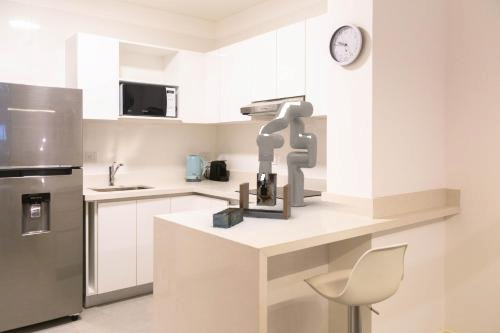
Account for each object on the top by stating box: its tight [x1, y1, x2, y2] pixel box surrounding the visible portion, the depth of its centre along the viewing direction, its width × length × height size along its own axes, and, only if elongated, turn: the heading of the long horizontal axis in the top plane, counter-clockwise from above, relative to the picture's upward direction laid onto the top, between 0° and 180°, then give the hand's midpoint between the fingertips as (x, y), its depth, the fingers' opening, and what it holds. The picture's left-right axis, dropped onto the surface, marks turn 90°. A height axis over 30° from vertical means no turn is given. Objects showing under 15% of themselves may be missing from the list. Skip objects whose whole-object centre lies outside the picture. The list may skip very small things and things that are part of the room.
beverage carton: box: [212, 206, 244, 229], centre depth 188 cm, size 8×19×7 cm, turn 161°
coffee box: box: [255, 172, 278, 207], centre depth 207 cm, size 9×6×16 cm
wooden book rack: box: [238, 182, 292, 220], centre depth 207 cm, size 11×24×16 cm, turn 75°
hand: (265, 194), depth 207 cm, fingers closed on coffee box, 6 cm apart
